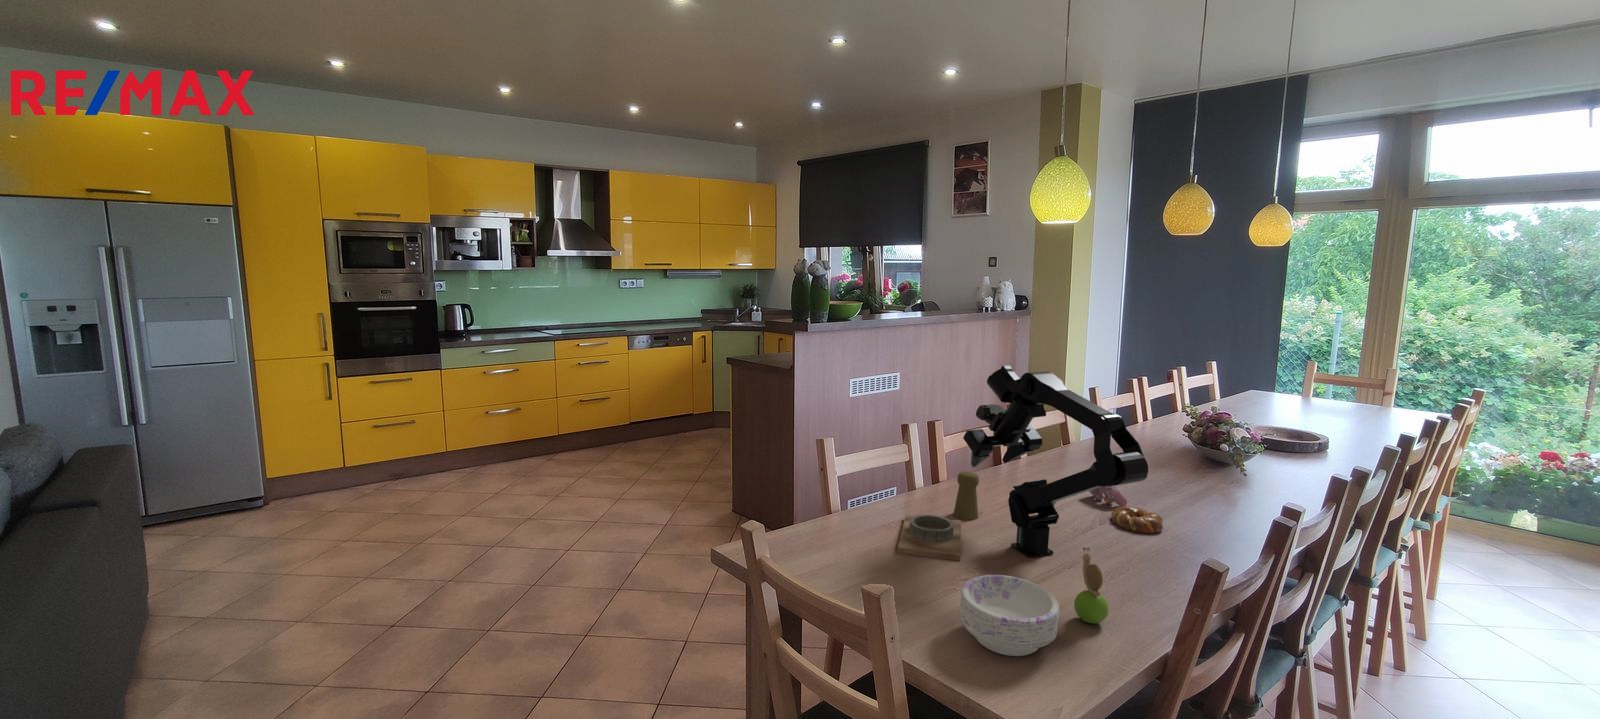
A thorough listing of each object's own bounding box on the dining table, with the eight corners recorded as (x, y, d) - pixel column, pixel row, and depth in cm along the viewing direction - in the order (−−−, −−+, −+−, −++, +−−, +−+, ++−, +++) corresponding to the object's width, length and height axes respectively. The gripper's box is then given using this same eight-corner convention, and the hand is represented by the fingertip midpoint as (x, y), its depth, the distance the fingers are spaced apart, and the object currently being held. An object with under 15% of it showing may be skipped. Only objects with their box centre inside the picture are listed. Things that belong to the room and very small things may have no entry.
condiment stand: (905, 519, 160) (906, 504, 159) (960, 525, 157) (961, 510, 156) (897, 552, 141) (898, 536, 140) (960, 560, 137) (961, 543, 137)
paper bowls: (1017, 680, 97) (1020, 630, 96) (939, 633, 110) (941, 588, 109) (1075, 648, 106) (1079, 601, 105) (997, 607, 119) (1000, 566, 117)
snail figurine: (1094, 610, 118) (1100, 547, 117) (1112, 629, 112) (1119, 563, 110) (1065, 610, 118) (1070, 546, 117) (1081, 629, 112) (1087, 562, 110)
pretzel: (1099, 520, 163) (1100, 506, 163) (1128, 514, 168) (1129, 500, 168) (1143, 538, 152) (1145, 523, 152) (1173, 531, 157) (1174, 516, 157)
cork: (976, 511, 166) (979, 469, 165) (980, 520, 160) (983, 476, 159) (951, 510, 167) (954, 468, 165) (955, 519, 161) (957, 475, 159)
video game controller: (1087, 501, 180) (1081, 481, 178) (1098, 492, 182) (1092, 472, 180) (1118, 514, 171) (1111, 492, 169) (1130, 504, 173) (1123, 483, 171)
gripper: (1029, 390, 155) (1001, 435, 165) (965, 394, 148) (939, 442, 157) (1057, 424, 148) (1026, 469, 157) (991, 430, 140) (962, 478, 150)
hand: (988, 463), depth 156 cm, fingers open, 9 cm apart
